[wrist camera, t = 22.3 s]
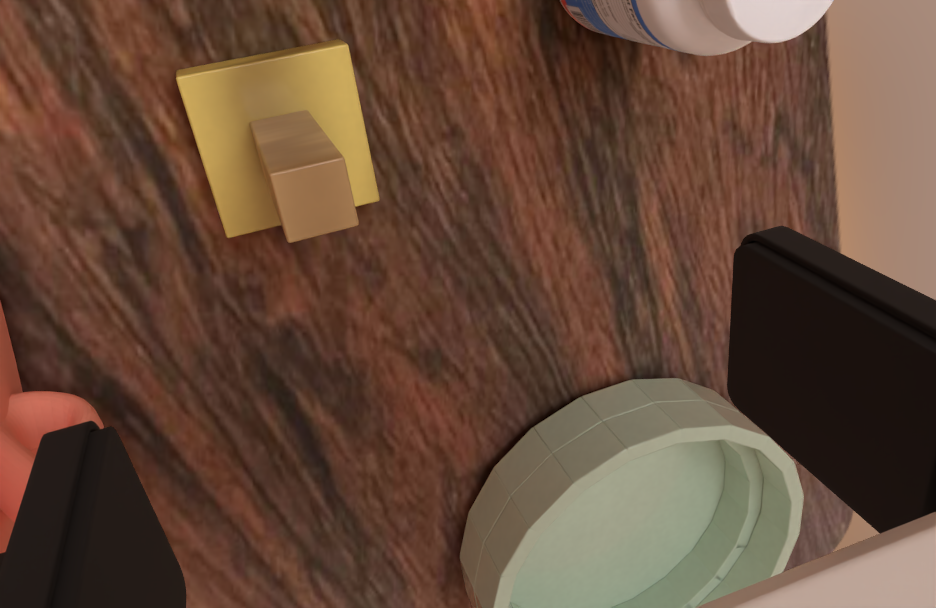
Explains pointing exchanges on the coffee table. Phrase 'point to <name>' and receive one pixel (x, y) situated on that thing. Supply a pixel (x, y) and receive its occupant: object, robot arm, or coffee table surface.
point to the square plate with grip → (282, 139)
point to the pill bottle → (698, 21)
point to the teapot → (27, 429)
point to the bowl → (633, 505)
